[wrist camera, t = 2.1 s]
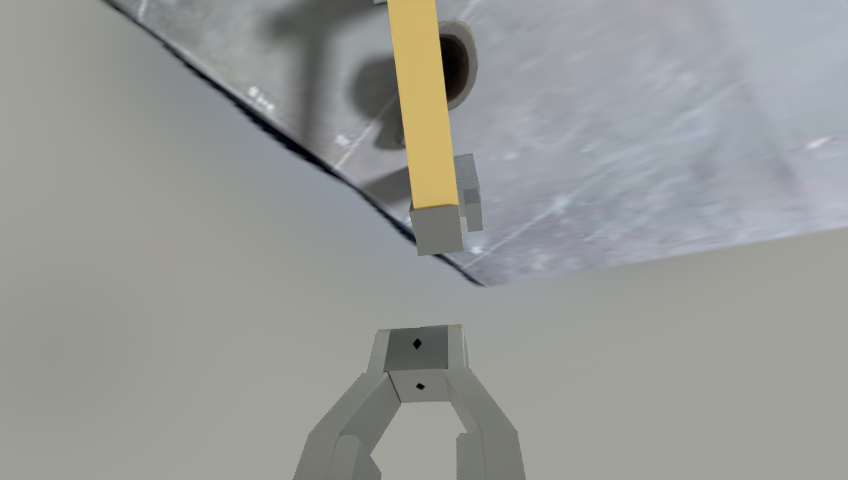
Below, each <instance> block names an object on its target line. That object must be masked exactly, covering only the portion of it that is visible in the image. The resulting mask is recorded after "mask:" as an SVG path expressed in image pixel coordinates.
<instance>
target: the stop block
mask: <svg viewBox="0 0 848 480" xmlns="http://www.w3.org/2000/svg"><path fill="white" fill-rule="evenodd" d="M453 159H454V168H455V176H456V185H457V194H458V202H459V211H460V217H464V216H466V217H467V226H468V232H471V231H480V230H483V225H482V209H481V197H480V187H479V182H478V177H477V173H476V168H475V163H474V159H473V154H468V155H461V156H455V157H453ZM410 199H411V205H410V210H409V213H410V218H411V222H412V226H413V230H414V234H415V226H414V218H413V211H414V206H413V198H412V191H411V196H410ZM415 238H416V234H415Z"/></svg>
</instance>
